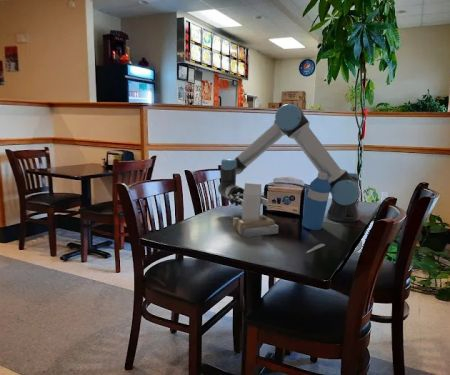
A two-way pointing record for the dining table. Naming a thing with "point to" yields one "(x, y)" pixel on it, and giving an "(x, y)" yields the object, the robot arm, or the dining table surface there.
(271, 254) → the dining table surface
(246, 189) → the light grey rectangular block
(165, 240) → the dining table surface
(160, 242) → the dining table surface
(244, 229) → the stop rail
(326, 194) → the water bottle
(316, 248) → the butter knife
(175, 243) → the dining table surface
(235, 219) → the cradle
